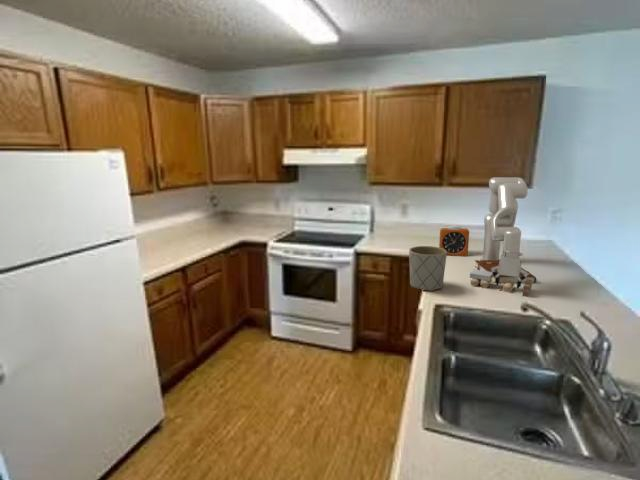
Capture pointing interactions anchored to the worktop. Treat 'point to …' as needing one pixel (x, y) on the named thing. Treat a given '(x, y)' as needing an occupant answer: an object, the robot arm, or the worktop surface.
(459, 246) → the alarm clock
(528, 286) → the stop block
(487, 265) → the book
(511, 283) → the roller
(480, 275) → the slab
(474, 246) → the worktop surface
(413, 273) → the planter
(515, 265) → the robot arm
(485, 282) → the bed rollers
